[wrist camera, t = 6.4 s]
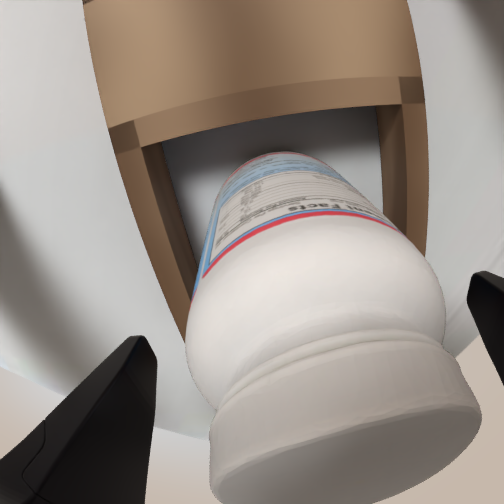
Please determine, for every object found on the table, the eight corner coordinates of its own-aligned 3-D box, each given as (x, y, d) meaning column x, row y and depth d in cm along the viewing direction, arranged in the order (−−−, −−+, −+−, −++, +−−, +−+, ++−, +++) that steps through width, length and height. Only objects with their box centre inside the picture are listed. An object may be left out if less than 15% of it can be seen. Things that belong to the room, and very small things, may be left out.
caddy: (307, -160, 3) (315, -182, 1) (397, 292, 16) (415, 321, 14) (97, -123, 4) (79, -141, 2) (199, 328, 17) (193, 362, 14)
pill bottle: (309, 291, 16) (365, 518, 6) (193, 246, 14) (132, 504, 4) (374, 187, 13) (556, 383, 3) (250, 122, 12) (279, 291, 2)
